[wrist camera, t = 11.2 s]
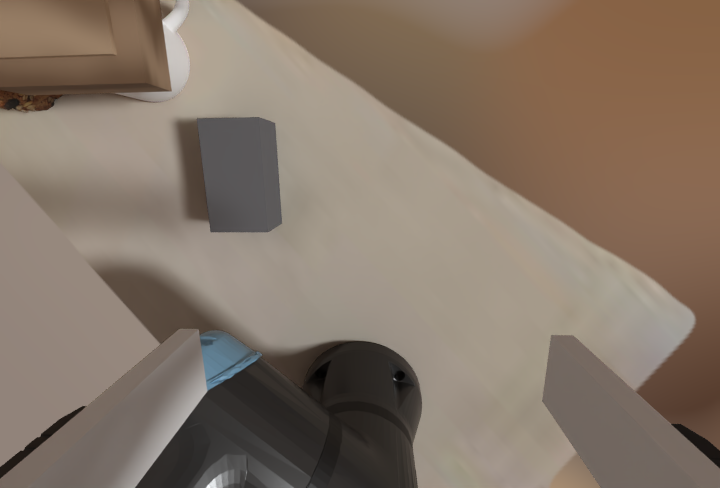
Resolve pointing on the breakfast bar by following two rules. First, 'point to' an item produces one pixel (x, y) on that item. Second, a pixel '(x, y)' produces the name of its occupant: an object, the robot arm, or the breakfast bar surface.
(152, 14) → the lid
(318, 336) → the breakfast bar surface
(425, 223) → the breakfast bar surface
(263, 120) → the block
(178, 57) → the cup
